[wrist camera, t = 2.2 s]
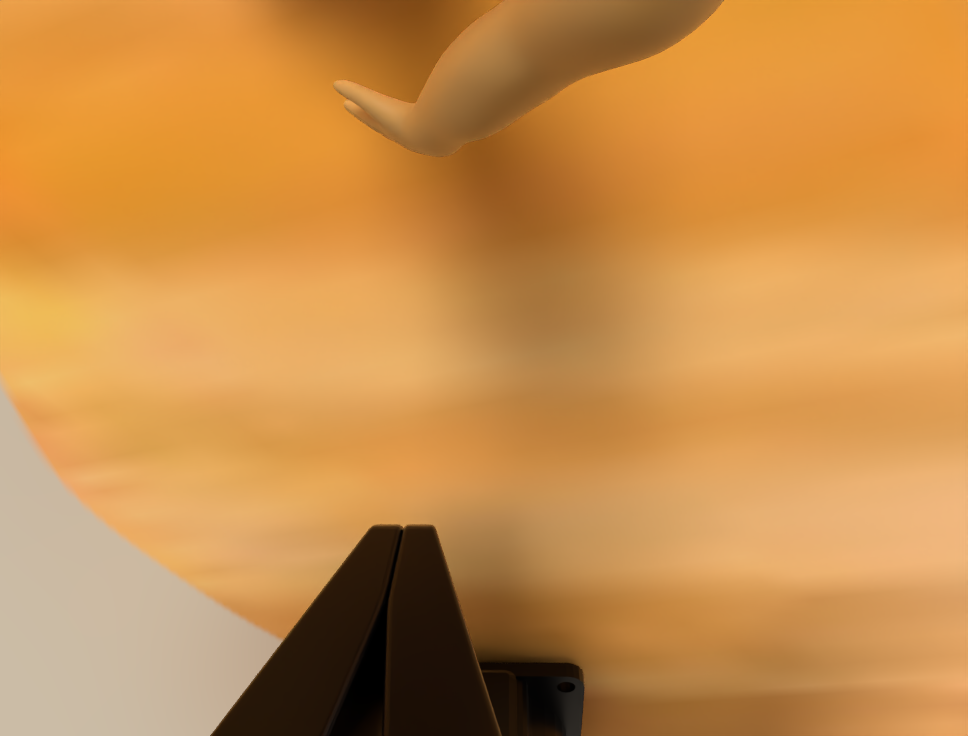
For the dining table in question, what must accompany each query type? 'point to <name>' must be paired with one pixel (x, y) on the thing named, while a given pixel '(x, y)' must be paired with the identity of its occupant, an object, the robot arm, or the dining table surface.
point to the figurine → (521, 65)
